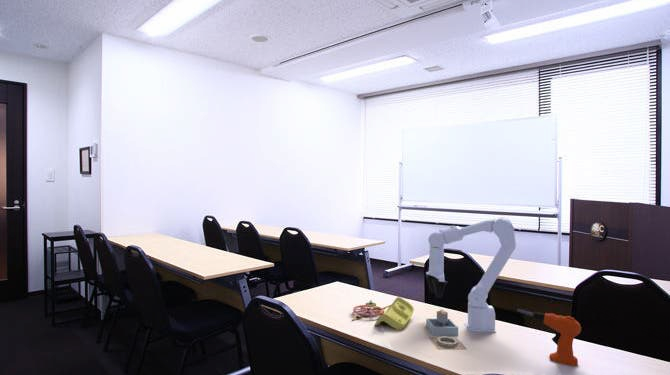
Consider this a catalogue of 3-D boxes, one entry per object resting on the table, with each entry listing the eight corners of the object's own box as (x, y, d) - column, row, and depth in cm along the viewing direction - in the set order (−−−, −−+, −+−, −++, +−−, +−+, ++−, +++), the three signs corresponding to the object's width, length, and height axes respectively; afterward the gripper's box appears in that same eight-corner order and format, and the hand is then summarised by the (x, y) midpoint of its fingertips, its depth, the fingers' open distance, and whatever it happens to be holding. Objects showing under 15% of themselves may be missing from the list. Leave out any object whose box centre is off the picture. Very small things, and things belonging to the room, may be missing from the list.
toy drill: (513, 342, 128) (519, 299, 127) (577, 365, 118) (585, 318, 117) (510, 346, 125) (517, 303, 124) (576, 370, 114) (585, 323, 113)
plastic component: (404, 326, 139) (380, 310, 143) (395, 341, 141) (373, 326, 145) (416, 307, 157) (396, 294, 161) (409, 321, 159) (388, 308, 163)
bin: (449, 326, 146) (449, 318, 146) (458, 336, 137) (458, 327, 137) (426, 326, 146) (426, 318, 146) (433, 335, 136) (433, 327, 136)
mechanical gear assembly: (338, 317, 155) (368, 328, 145) (339, 307, 155) (368, 317, 145) (379, 302, 178) (407, 310, 168) (379, 293, 178) (407, 301, 168)
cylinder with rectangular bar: (436, 327, 144) (436, 308, 144) (447, 328, 143) (447, 309, 143) (436, 330, 140) (437, 312, 140) (447, 332, 139) (448, 313, 139)
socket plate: (456, 338, 134) (456, 334, 134) (467, 350, 124) (467, 346, 124) (428, 338, 134) (428, 334, 134) (437, 350, 124) (437, 346, 124)
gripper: (421, 258, 159) (421, 290, 159) (432, 265, 145) (431, 300, 145) (438, 258, 160) (437, 290, 160) (450, 265, 145) (449, 300, 145)
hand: (435, 295), depth 152 cm, fingers open, 7 cm apart
